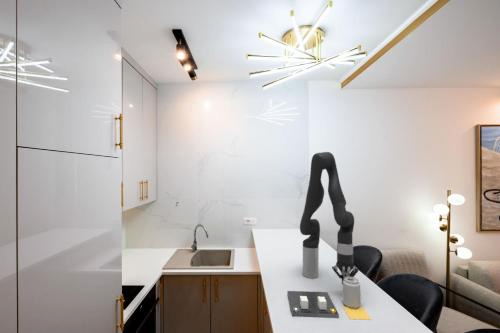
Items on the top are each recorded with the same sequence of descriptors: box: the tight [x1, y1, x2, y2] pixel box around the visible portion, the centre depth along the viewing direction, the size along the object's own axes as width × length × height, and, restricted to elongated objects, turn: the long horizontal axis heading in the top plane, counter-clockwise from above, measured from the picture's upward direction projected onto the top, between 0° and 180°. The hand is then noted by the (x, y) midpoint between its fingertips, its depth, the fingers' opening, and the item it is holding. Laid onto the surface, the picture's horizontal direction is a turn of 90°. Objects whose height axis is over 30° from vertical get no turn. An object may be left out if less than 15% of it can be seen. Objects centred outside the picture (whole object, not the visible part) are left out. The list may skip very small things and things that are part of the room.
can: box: [342, 276, 361, 308], centre depth 111 cm, size 8×8×12 cm
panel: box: [286, 290, 340, 319], centre depth 111 cm, size 18×20×3 cm
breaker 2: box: [318, 297, 327, 310], centre depth 107 cm, size 4×3×4 cm
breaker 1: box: [300, 296, 308, 309], centre depth 107 cm, size 4×3×4 cm
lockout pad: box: [342, 305, 372, 321], centre depth 105 cm, size 9×9×1 cm
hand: (345, 286), depth 118 cm, fingers closed
